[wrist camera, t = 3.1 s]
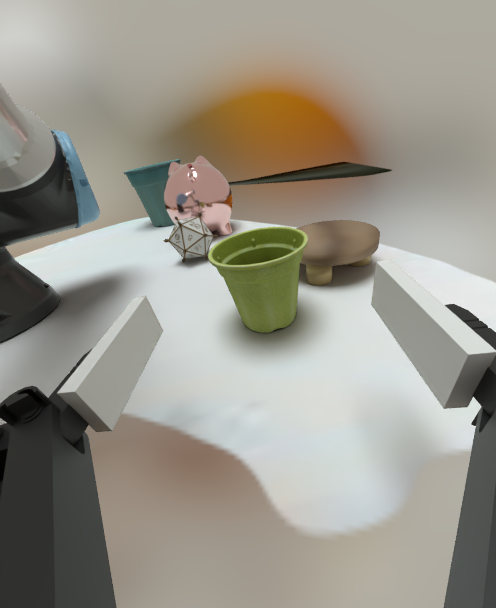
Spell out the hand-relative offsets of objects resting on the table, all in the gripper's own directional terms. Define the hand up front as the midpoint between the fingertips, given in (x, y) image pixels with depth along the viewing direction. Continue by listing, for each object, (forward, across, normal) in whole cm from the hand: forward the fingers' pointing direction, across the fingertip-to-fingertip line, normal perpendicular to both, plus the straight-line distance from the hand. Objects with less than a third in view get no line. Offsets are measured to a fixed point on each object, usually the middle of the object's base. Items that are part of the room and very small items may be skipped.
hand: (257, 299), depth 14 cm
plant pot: (+10, 0, -9) cm, 14 cm away
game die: (+31, -13, -9) cm, 35 cm away
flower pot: (+67, -30, -8) cm, 73 cm away
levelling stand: (+20, +9, -9) cm, 24 cm away
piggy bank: (+47, -14, -9) cm, 50 cm away
